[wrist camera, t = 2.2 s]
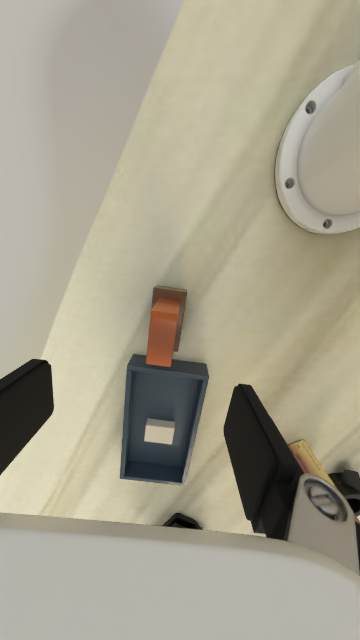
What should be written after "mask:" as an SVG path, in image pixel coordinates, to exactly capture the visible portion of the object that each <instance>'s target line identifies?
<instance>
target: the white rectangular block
mask: <svg viewBox="0 0 360 640" xmlns="http://www.w3.org/2000/svg"><path fill="white" fill-rule="evenodd" d="M174 430H175V422H174V421H166V420H158V419H150V418H147V423H146V429H145V438H144V441H147V442H155V443H164V444H172V441H173V435H174Z"/></svg>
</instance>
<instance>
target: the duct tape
mask: <svg viewBox="0 0 360 640" xmlns="http://www.w3.org/2000/svg"><path fill="white" fill-rule="evenodd" d="M328 476H329V477H330V479H331V480H332V482H333V483H334V485H335V486H336V488H337V489H338V491H339V492H340V493H341V494H342V495H343V496H344V498H345V499H346V500H347V502H348V503H349V505H350V507H351V509H352V511H353V512H354V514H355V515H356V517H357V516H359V515H360V477H359V474H358V472H355V471H350V470H343V473H334V474H330V475H328Z"/></svg>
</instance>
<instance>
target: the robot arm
mask: <svg viewBox="0 0 360 640" xmlns="http://www.w3.org/2000/svg"><path fill="white" fill-rule="evenodd" d="M275 181H276V189H277V193H278V197H279V201H280V203H281V205H282V207H283V209H284V211H285V212H286V214H287V215H288V216H289V217H290V219H291V220H292V221H293V222H295V223H296V224H297V225H298V226H300V227H301V228H303V229H305V230H307V231H309V232H313V233H318V234H336V233H342V232H347V231H350V230H354V229H357V228H359V227H360V60H359V61H358V62H357V63H356V64H353V65H349V66H347V67H345V68H343V69H341V70H339V71H337V72H335V73H333V74H332V75H330V76H329V77H328V78H326V79H325V80H324V81H322V82H321V83H320V84H319V85H318V86H317V87H316V88H315V89H314V90H313V91H312V92H311V93H310V94H309V95H308V96H307V97H306V99H305V100H304V101H303V103H302V104H301V105H300V107H299V108H298V109H297V111H296V112H295V114H294V115H293V117H292V119H291V120H290V122H289V124H288V125H287V127H286V130H285V132H284V134H283V137H282V139H281V142H280V145H279V149H278V153H277V157H276V167H275ZM285 184H286V185H287V188H286V186H285ZM53 410H54V402H53V387H52V373H51V365H50V364H48V361H46V360H39V359H32V360H30V361H29V362H27V363H25V364H24V365H22V366H21V367H19V368H18V369H16V370H14V371H13V372H11V373H10V374H8V375H6V376H5V377H3V378H2V379H0V475H1V474H2V472H3V471H4V470H5V469H6V468H7V467H8V465H9V464H10V463H11V462H12V461H13V460H14V458H15V457H16V456H17V455H18V454H19V453H20V451H21V450H22V449H23V448H24V447H25V445H26V444H27V443H28V442H29V441H30V440H31V438H32V437H33V436H34V435H35V434H36V433H37V431H38V430H39V429H40V428H41V427H42V425H43V424H44V423H45V422H46V421H47V420H48V418H49V417H50V416H51V415H52V413H53ZM224 436H225V440H226V444H227V448H228V452H229V455H230V459H231V463H232V467H233V470H234V474H235V478H236V482H237V486H238V489H239V493H240V497H241V501H242V505H243V508H244V512H245V516H246V518H247V520H250V521H251V524H252V527H253V531H254V533H263V534H266V537H261V536H253V535H244V534H235V533H227V532H218V531H208V530H198V529H187V528H176V527H165V526H154V525H143V524H132V523H120V522H108V521H97V520H85V519H73V518H61V517H49V516H37V515H24V514H12V513H0V640H360V524H359V523H358V522H356V521H355V518H354V514H353V511H352V509H351V507H350V505H349V503H348V502H347V500H346V499H345V498H344V496H343V495H342V494H341V493H340V492H339V491H338V490H337V489H336V488H335V487H334V486H333V485H332V484H330V483H329V482H328V481H326V480H325V479H323V478H321V477H319V476H317V475H314V474H311V473H305V474H304V472H303V470H302V469H301V467H300V465H299V464H298V462H297V460H296V459H295V457H294V455H293V454H292V452H291V450H290V449H289V447H288V445H287V444H286V442H285V440H284V439H283V437H282V435H281V434H280V432H279V430H278V429H277V427H276V425H275V424H274V422H273V420H272V419H271V417H270V416H269V415H268V413H267V411H266V410H265V408H264V406H263V404H262V403H261V401H260V399H259V398H258V396H257V394H256V393H255V391H254V389H253V388H252V386H251V385H246V384H239V385H238V386H235V387H234V390H233V394H232V398H231V402H230V405H229V409H228V413H227V417H226V420H225V424H224Z"/></svg>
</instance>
